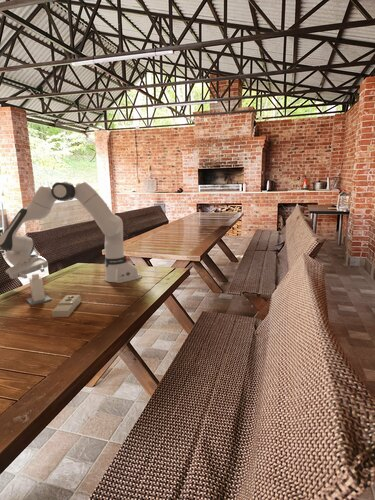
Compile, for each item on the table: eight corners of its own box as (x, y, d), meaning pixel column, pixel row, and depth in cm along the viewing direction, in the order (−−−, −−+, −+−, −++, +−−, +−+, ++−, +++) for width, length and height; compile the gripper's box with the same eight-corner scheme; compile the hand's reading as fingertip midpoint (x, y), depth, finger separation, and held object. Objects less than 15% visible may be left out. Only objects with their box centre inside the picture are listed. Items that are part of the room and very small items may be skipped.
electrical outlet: (51, 309, 142) (66, 294, 159) (52, 317, 143) (67, 302, 160) (67, 308, 142) (80, 294, 159) (68, 317, 143) (81, 302, 160)
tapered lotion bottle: (42, 296, 166) (39, 272, 163) (45, 298, 162) (41, 274, 159) (32, 298, 163) (28, 274, 160) (34, 301, 159) (31, 276, 156)
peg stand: (45, 295, 169) (44, 281, 168) (51, 300, 162) (49, 286, 160) (25, 300, 163) (23, 285, 162) (30, 305, 156) (28, 290, 154)
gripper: (2, 265, 169) (13, 276, 162) (40, 253, 183) (51, 262, 175) (5, 275, 173) (15, 286, 165) (41, 262, 186) (53, 271, 178)
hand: (34, 273), depth 170 cm, fingers open, 8 cm apart
